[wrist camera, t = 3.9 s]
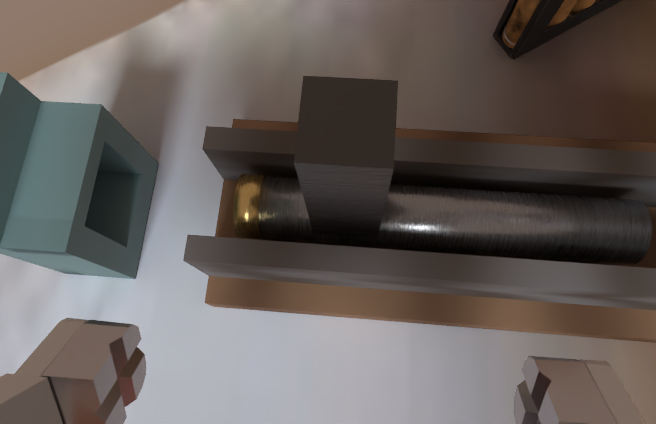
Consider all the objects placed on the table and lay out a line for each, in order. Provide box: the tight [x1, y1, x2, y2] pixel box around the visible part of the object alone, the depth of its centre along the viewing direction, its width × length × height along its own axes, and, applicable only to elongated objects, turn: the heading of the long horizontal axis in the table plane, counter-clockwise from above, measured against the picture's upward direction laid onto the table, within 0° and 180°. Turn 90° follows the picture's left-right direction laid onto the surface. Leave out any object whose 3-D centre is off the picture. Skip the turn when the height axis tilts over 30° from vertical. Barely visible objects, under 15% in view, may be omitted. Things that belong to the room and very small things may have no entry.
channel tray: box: [184, 119, 656, 342], centre depth 21 cm, size 22×9×5 cm, turn 85°
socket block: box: [0, 72, 158, 279], centre depth 20 cm, size 4×6×8 cm, turn 175°
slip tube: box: [233, 76, 652, 264], centre depth 17 cm, size 16×3×10 cm, turn 85°
